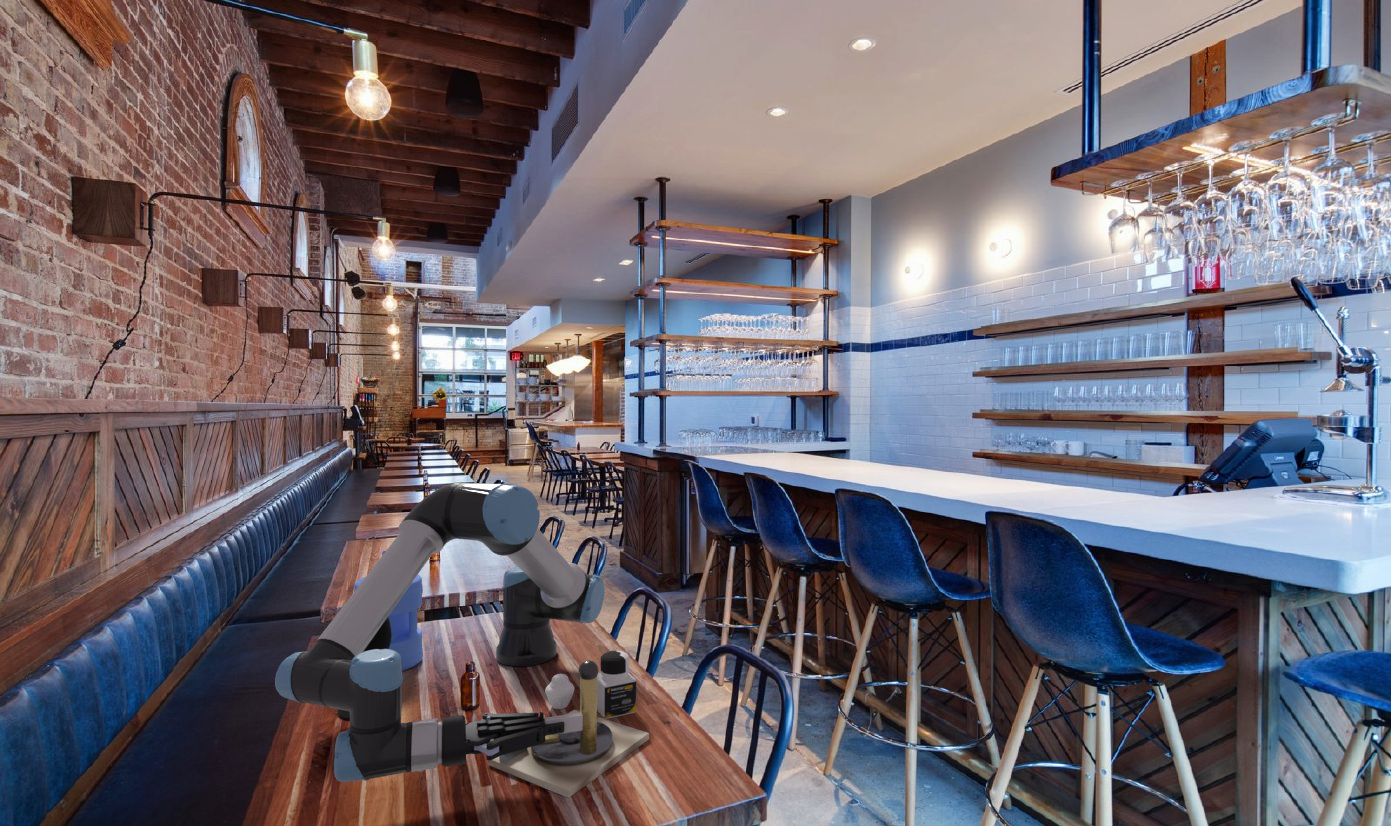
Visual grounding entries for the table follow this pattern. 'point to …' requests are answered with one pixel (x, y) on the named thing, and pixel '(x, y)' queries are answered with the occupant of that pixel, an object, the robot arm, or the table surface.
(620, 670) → the medicine bottle
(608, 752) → the stand
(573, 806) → the table surface
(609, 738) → the brass rod on disc
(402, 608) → the water jug
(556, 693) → the grey piece
